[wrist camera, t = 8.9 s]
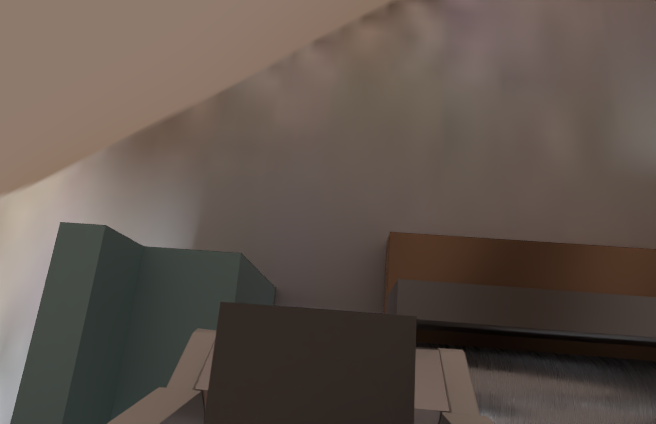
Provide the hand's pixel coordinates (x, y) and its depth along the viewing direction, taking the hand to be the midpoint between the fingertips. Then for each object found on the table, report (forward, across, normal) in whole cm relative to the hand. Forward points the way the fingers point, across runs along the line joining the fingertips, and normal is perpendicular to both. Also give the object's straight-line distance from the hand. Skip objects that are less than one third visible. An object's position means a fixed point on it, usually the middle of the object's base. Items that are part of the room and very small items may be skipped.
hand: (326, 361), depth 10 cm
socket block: (+4, +4, +5) cm, 8 cm away
